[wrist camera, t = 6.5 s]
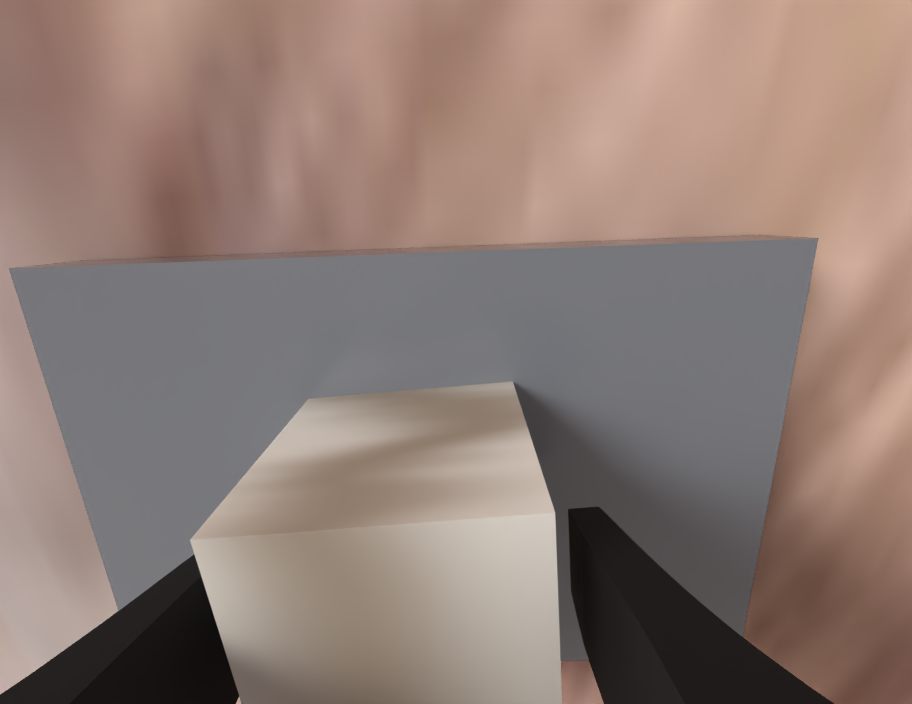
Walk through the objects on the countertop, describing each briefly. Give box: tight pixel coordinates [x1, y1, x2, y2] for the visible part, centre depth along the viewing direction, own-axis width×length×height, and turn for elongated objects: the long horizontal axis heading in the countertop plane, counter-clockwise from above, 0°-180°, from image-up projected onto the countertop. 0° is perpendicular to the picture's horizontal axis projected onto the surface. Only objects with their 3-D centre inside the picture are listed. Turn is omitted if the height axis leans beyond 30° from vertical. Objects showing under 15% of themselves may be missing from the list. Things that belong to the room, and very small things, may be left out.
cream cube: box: [190, 381, 562, 704], centre depth 9 cm, size 5×5×5 cm
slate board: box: [9, 235, 818, 661], centre depth 13 cm, size 18×12×2 cm, turn 92°
